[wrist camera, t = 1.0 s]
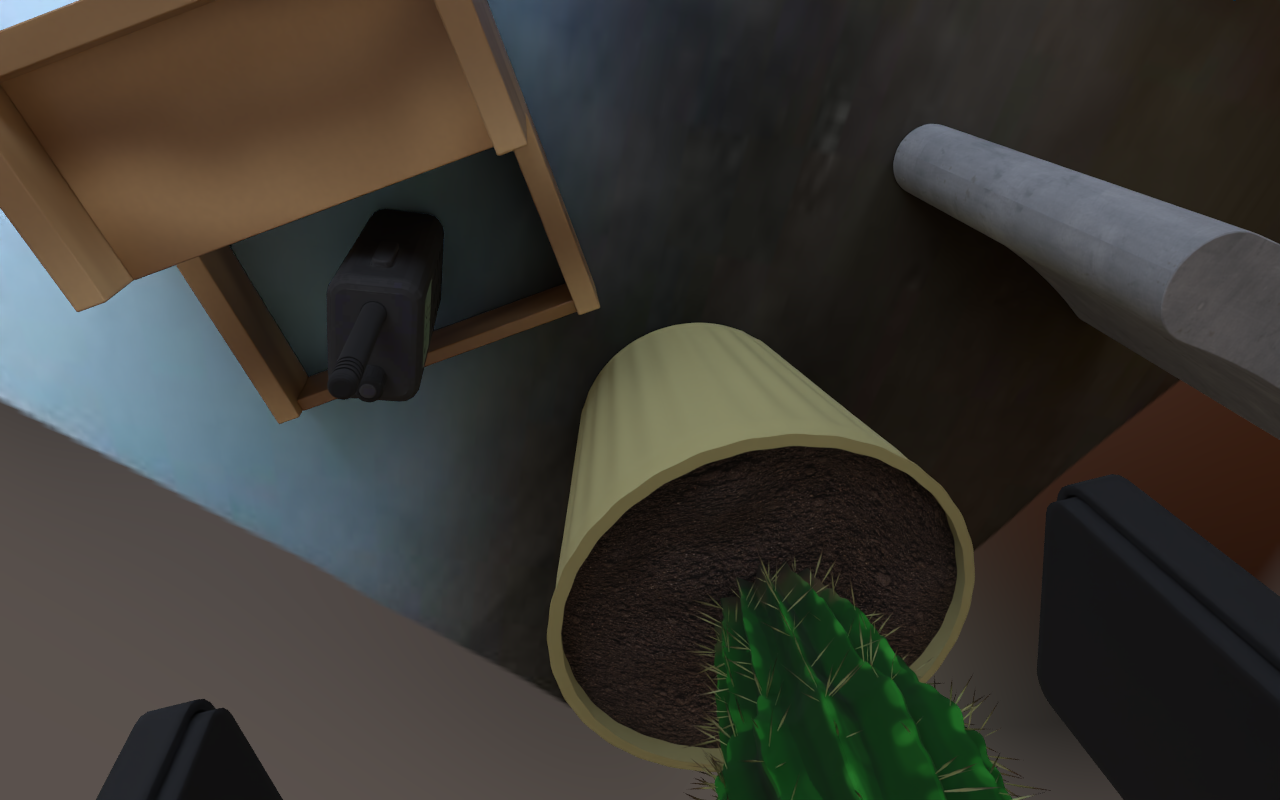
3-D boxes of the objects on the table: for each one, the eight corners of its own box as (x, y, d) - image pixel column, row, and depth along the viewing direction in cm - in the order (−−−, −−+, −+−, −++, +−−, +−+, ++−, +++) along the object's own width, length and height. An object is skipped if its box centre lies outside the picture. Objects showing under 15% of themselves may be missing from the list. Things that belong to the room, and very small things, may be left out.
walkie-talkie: (440, 313, 37) (397, 497, 24) (363, 305, 36) (276, 490, 23) (445, 209, 35) (401, 348, 22) (363, 199, 34) (268, 336, 21)
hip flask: (878, 171, 37) (1209, 348, 19) (938, 91, 35) (1350, 202, 18) (1099, 333, 42) (1511, 584, 25) (1157, 269, 41) (1636, 486, 23)
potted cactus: (570, 251, 36) (710, 957, 10) (876, 310, 40) (1574, 951, 14) (513, 527, 43) (508, 1395, 17) (780, 557, 46) (1127, 1315, 20)
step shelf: (76, 42, 30) (-104, 67, 22) (448, -101, 30) (419, -134, 21) (295, 394, 38) (228, 518, 29) (594, 285, 37) (618, 378, 29)
